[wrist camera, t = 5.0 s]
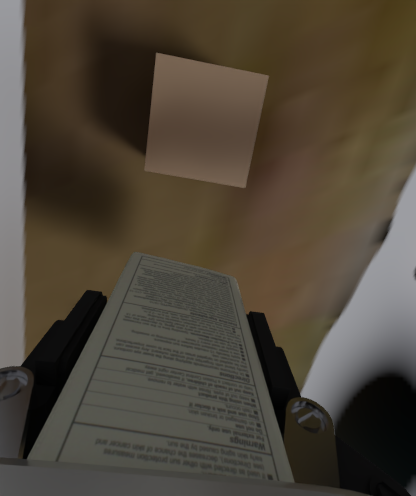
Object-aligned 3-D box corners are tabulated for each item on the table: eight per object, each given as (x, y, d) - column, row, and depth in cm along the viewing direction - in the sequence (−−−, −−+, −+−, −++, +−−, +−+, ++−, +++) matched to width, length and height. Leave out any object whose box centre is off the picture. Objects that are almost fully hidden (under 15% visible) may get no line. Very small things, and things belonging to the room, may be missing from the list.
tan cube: (167, 77, 18) (156, 52, 13) (250, 93, 18) (268, 75, 13) (157, 164, 19) (144, 170, 14) (234, 177, 20) (245, 188, 15)
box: (114, 324, 15) (-89, 771, 4) (133, 246, 13) (-103, 637, 3) (215, 348, 15) (246, 787, 5) (244, 277, 14) (366, 685, 4)
